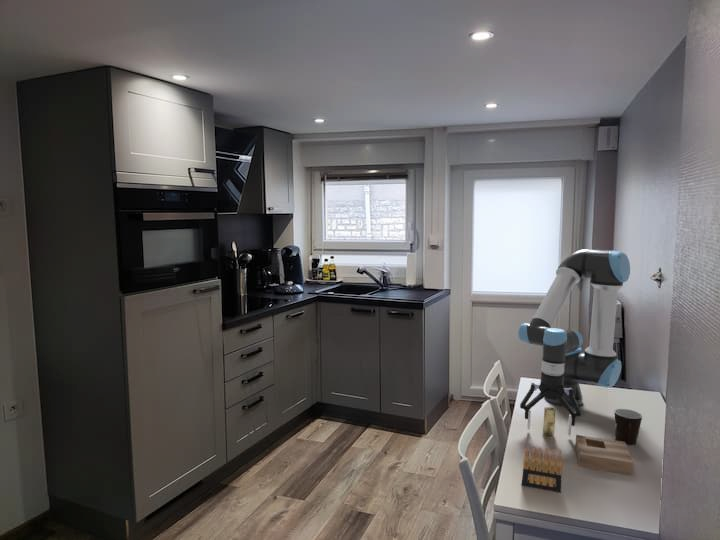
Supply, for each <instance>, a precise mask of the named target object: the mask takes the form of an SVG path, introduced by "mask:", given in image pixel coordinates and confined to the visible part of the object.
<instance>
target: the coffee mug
mask: <svg viewBox="0 0 720 540" xmlns="http://www.w3.org/2000/svg"><path fill="white" fill-rule="evenodd" d="M642 421H643V415H642V414H641V413H640V412H638V411H635V410H633V409H626V408H618V409H614V429H615V441H621V442H625V443H626V445H627V446H635V445H636V444H637V442H638V437H639V432H640V429H641V424H642Z"/></svg>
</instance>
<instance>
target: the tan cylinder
mask: <svg viewBox="0 0 720 540" xmlns="http://www.w3.org/2000/svg"><path fill="white" fill-rule="evenodd" d="M556 410H557V409H556V408H555V407H553V406H544V408H543V411H544V412H543V425H542V426H543V427H542V436H543V437H544V436H545V438H547V437H549V438H548V439H550V437H553V438H554V437H555V429H556V428H555V427H556V426H555V424H556V413H557V411H556Z"/></svg>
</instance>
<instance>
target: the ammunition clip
mask: <svg viewBox="0 0 720 540" xmlns="http://www.w3.org/2000/svg"><path fill="white" fill-rule="evenodd" d="M536 453H537V456H536ZM562 473H563V455H562V451H561V450H559V451H558V453H557V459H556V452H555V449H554V448H553V449H552V450H551V454H550V457H549V449H548V448H547V447H546V448H545V451H544V454H543V451H542V447H541V446H540V447H539V448H538V450H537V452H536V447H535V446H534V445H533V446H532V449H531V453H530V447H529V445H528V444H526V446H525V450H524V456H523V463H522V475H521V486H523V487H527V488H534V489H539V490H543V491H544V490H545V491H551V492H555V493H560V494H561V493H562V478H563V477H562Z"/></svg>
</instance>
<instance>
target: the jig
mask: <svg viewBox="0 0 720 540" xmlns="http://www.w3.org/2000/svg"><path fill="white" fill-rule="evenodd" d="M574 445H575V446H576V447H575V452H576V456H577V457H578V458H577V457H576V458H577V463H578V467H580V466H581V468H587V469H593V470H599V471H604V472H611V473H615V474H617V473H618V474H623V475H630V476H633V474H634V460H633V457H632V454H631V452H630V450H629V448H628V445H626V443H625V442H621V441H616V439H615V440H614V439H607V438H599V437H593V436H588V435H580V434H576V435H575V444H574Z"/></svg>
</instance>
